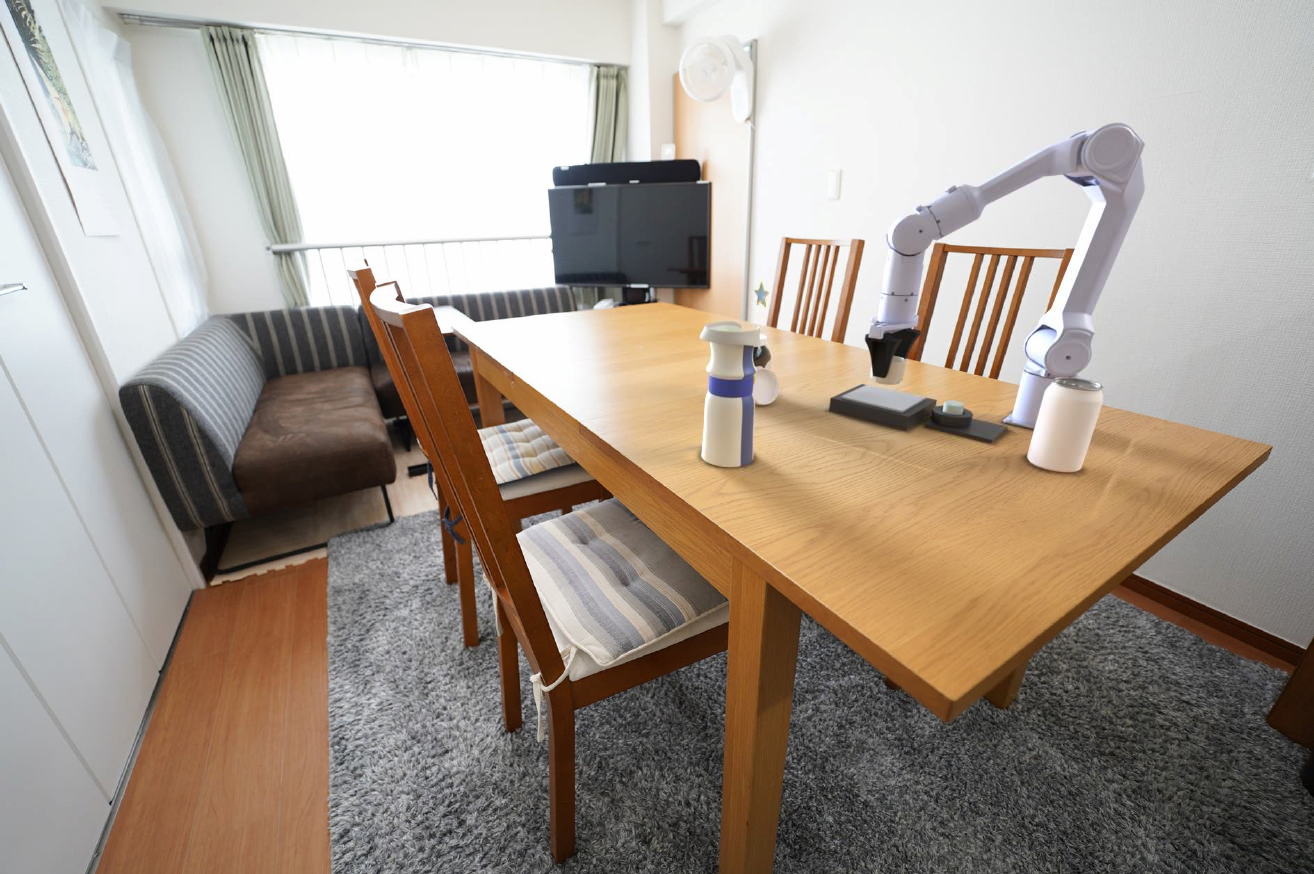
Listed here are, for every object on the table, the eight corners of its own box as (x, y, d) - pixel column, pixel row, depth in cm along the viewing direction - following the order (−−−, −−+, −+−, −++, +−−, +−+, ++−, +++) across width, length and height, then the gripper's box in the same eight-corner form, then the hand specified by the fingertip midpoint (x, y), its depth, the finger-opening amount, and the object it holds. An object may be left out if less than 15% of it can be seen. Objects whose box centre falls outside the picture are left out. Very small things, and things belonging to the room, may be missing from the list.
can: (1064, 478, 73) (1090, 393, 69) (1016, 460, 78) (1037, 380, 74) (1090, 468, 76) (1117, 386, 71) (1042, 451, 81) (1064, 374, 77)
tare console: (1006, 430, 89) (1010, 416, 88) (991, 444, 84) (994, 429, 83) (940, 415, 96) (943, 401, 95) (922, 426, 91) (925, 412, 90)
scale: (934, 413, 97) (937, 397, 96) (906, 431, 89) (909, 414, 88) (860, 396, 106) (862, 381, 105) (828, 411, 98) (830, 395, 97)
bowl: (907, 380, 95) (911, 358, 94) (894, 387, 92) (898, 364, 90) (877, 375, 99) (881, 353, 97) (863, 381, 95) (867, 358, 94)
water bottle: (721, 440, 87) (728, 277, 77) (766, 455, 81) (779, 282, 71) (687, 455, 81) (689, 283, 72) (732, 472, 76) (741, 288, 66)
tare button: (965, 412, 91) (967, 403, 90) (958, 417, 89) (960, 407, 88) (946, 408, 93) (948, 399, 92) (939, 413, 91) (941, 403, 90)
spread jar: (740, 384, 114) (742, 329, 110) (791, 394, 108) (796, 336, 103) (711, 400, 105) (712, 340, 101) (764, 411, 99) (769, 348, 94)
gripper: (894, 287, 97) (883, 361, 102) (855, 296, 88) (845, 377, 93) (935, 290, 92) (921, 368, 97) (899, 300, 83) (885, 385, 88)
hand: (887, 373), depth 95 cm, fingers closed on bowl, 5 cm apart
